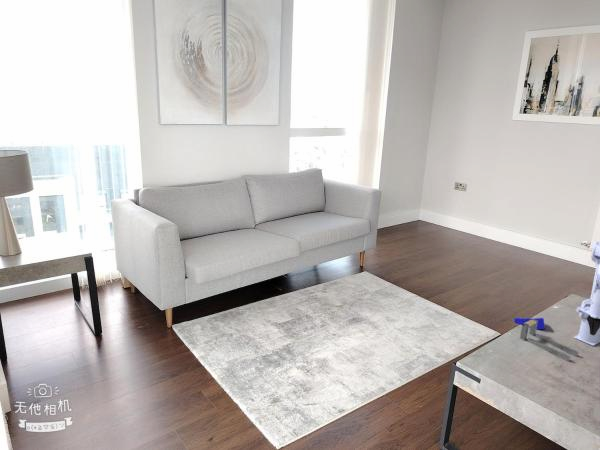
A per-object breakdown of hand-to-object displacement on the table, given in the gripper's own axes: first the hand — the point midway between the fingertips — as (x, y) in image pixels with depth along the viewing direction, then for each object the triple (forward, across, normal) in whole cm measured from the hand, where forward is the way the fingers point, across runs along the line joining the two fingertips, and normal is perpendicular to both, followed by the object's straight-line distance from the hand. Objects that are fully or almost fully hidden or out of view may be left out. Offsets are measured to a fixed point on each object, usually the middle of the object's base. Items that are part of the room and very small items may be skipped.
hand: (592, 334), depth 172 cm
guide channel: (+10, -10, -8) cm, 17 cm away
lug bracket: (+10, -21, -8) cm, 25 cm away
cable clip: (+7, -25, +1) cm, 26 cm away
